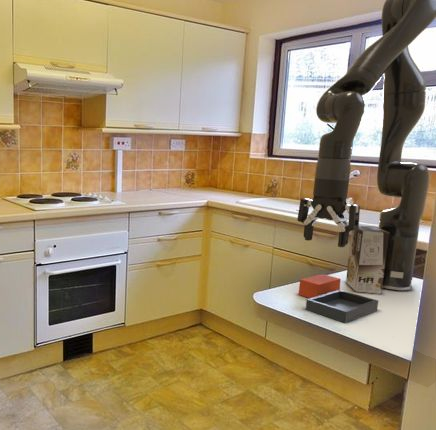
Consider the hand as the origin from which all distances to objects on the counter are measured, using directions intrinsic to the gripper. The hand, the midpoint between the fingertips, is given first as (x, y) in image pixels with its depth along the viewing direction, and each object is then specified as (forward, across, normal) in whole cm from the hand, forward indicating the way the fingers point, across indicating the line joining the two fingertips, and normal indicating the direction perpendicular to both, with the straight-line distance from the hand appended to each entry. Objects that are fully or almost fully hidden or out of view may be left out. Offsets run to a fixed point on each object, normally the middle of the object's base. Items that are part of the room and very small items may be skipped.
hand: (324, 243), depth 112 cm
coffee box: (+13, -3, -16) cm, 21 cm away
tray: (+13, -9, +6) cm, 17 cm away
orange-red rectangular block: (+13, 0, 0) cm, 13 cm away
